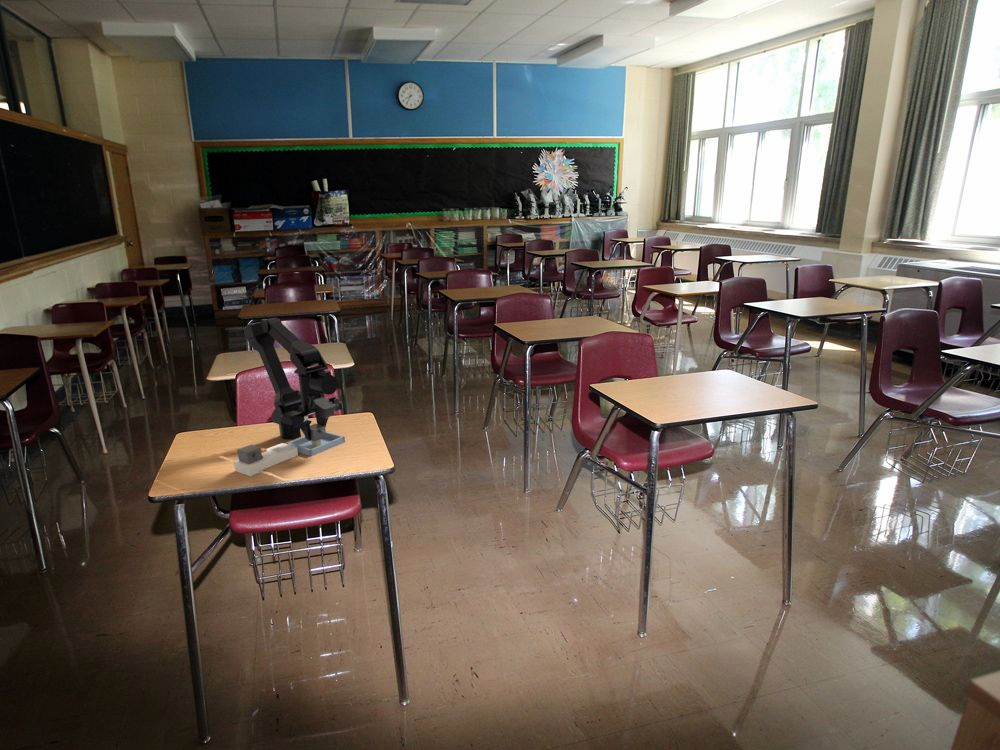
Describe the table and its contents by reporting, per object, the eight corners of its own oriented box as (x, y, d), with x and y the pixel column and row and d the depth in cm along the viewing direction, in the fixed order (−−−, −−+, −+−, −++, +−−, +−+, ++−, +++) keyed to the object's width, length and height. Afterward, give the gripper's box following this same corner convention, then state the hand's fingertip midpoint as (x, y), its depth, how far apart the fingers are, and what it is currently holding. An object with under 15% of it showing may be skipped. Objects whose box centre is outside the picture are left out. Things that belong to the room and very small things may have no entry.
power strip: (235, 471, 175) (232, 449, 173) (283, 452, 188) (280, 432, 186) (255, 478, 170) (251, 456, 168) (303, 458, 182) (300, 437, 181)
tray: (287, 450, 189) (286, 443, 188) (321, 437, 199) (321, 430, 198) (311, 457, 183) (310, 450, 182) (345, 443, 193) (344, 436, 192)
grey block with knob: (306, 446, 190) (303, 427, 189) (317, 441, 194) (315, 423, 192) (319, 450, 187) (317, 431, 185) (331, 445, 190) (329, 427, 188)
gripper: (301, 401, 174) (307, 453, 178) (352, 385, 189) (356, 433, 193) (277, 395, 180) (283, 445, 184) (327, 380, 195) (332, 427, 199)
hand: (315, 437), depth 190 cm, fingers closed on grey block with knob, 4 cm apart
